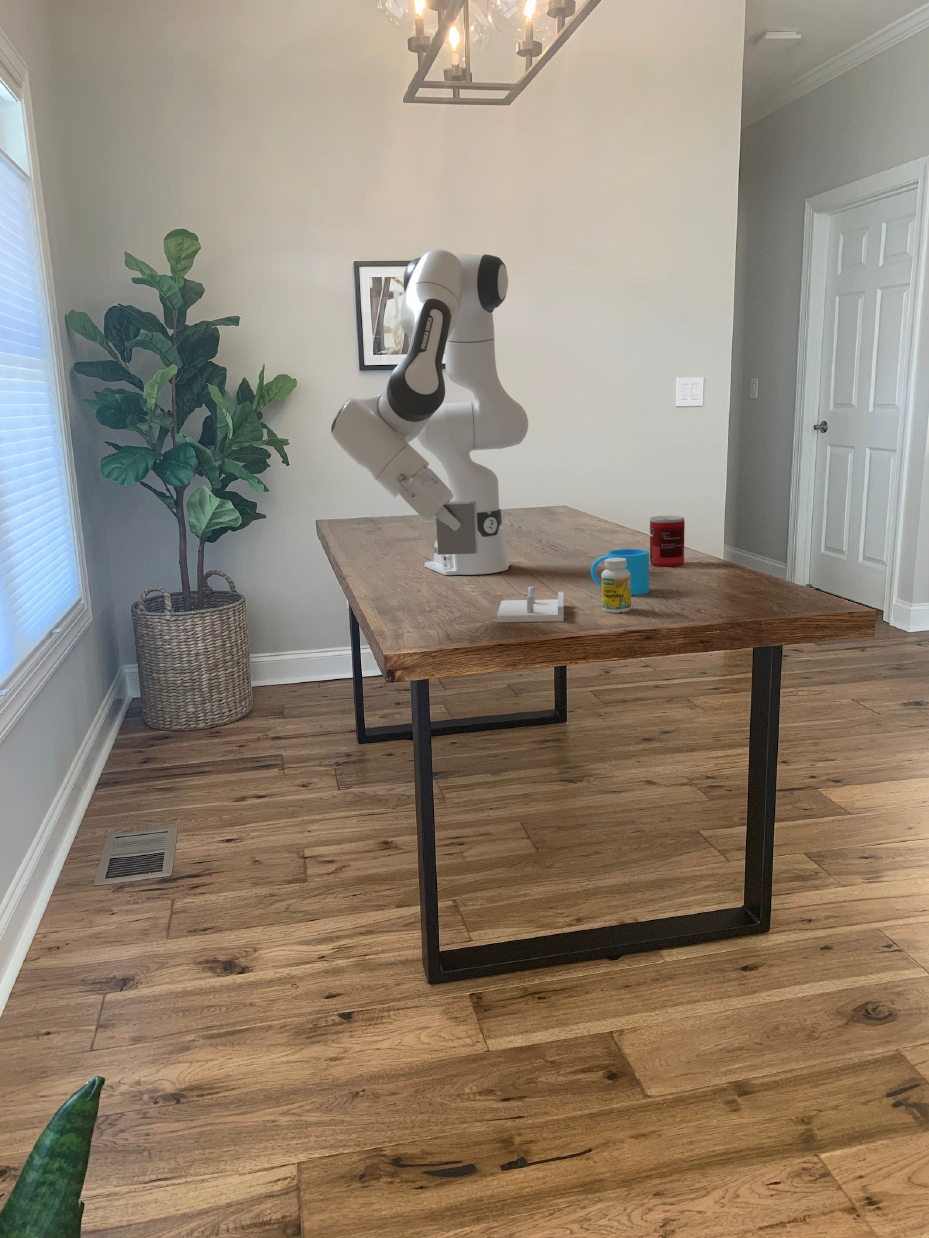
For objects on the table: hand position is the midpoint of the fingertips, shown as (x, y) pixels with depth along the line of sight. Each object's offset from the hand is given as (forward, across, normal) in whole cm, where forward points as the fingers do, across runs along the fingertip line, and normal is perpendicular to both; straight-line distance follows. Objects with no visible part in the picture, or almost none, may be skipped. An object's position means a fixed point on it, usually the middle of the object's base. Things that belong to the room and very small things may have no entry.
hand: (460, 525), depth 168 cm
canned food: (+42, +49, -17) cm, 67 cm away
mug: (+33, +20, -9) cm, 40 cm away
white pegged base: (+21, +2, +3) cm, 21 cm away
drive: (+3, 0, +4) cm, 5 cm away
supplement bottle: (+32, +3, -8) cm, 33 cm away
